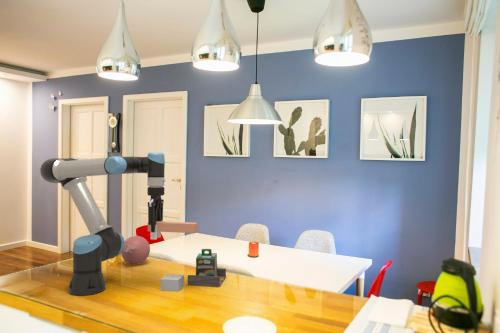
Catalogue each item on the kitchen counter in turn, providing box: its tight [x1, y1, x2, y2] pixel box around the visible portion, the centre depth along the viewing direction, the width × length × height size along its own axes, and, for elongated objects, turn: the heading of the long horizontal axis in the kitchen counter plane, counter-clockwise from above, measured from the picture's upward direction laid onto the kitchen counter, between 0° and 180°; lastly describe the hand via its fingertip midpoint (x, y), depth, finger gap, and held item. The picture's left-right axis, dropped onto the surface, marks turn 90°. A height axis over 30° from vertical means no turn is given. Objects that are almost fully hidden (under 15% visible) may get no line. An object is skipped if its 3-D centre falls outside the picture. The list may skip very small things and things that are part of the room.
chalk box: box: [195, 248, 218, 276], centre depth 187 cm, size 9×9×15 cm
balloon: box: [120, 235, 151, 265], centre depth 215 cm, size 15×20×15 cm
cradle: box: [187, 267, 227, 288], centre depth 187 cm, size 14×15×4 cm
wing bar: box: [147, 220, 199, 234], centre depth 177 cm, size 4×22×4 cm, turn 82°
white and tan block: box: [160, 273, 185, 292], centre depth 177 cm, size 8×8×5 cm
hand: (155, 238), depth 178 cm, fingers closed on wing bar, 4 cm apart
